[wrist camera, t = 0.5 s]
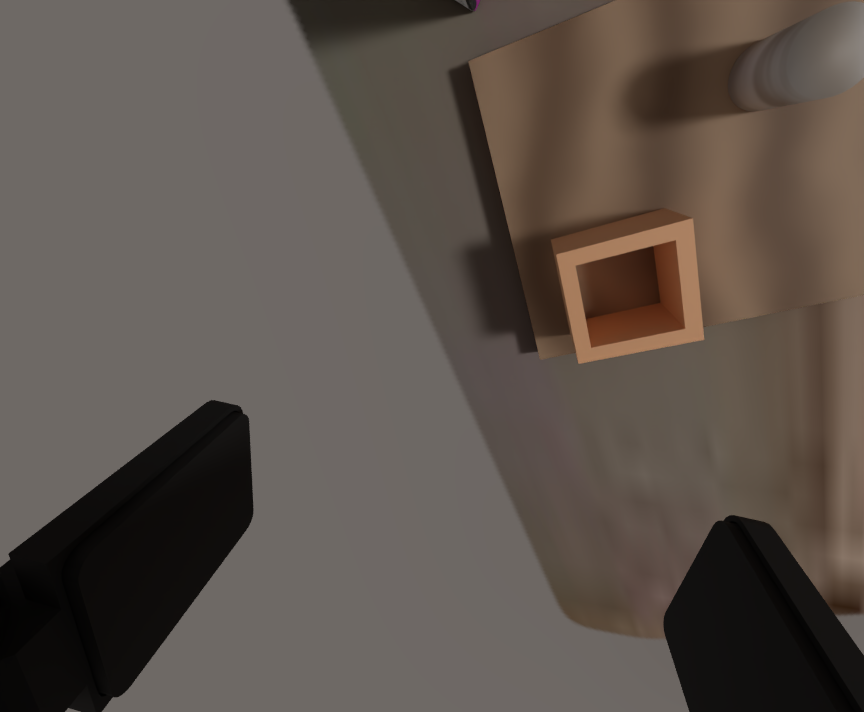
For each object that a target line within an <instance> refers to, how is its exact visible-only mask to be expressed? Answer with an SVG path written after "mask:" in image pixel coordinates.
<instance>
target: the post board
mask: <svg viewBox="0 0 864 712" xmlns="http://www.w3.org/2000/svg"><path fill="white" fill-rule="evenodd" d="M468 62H469V66H470V70H471V74H472V78H473V83H474V87H475V91H476V95H477V99H478V103H479V107H480V112H481V116H482V120H483V124H484V128H485V132H486V137H487V141H488V145H489V149H490V153H491V157H492V162H493V166H494V170H495V174H496V178H497V182H498V187H499V191H500V195H501V199H502V203H503V207H504V211H505V216H506V220H507V224H508V228H509V232H510V236H511V241H512V245H513V249H514V253H515V257H516V261H517V266H518V270H519V274H520V278H521V282H522V286H523V291H524V295H525V299H526V303H527V307H528V311H529V315H530V320H531V324H532V328H533V332H534V336H535V340H536V345H537V349H538V353H539V357H540V360H541V359H546V358H551V357H556V356H561V355H566V354H571V353H576V352H575V349H574V345H573V342H572V338H571V334H570V330H569V325H568V320H567V315H566V311H565V306H564V301H563V296H562V291H561V287H560V282H559V277H558V272H557V267H556V263H555V258H554V253H553V248H552V243H551V239H555V238H558V237H562V236H565V235H569V234H573V233H576V232H580V231H584V230H587V229H591V228H594V227H598V226H602V225H605V224H609V223H613V222H616V221H620V220H623V219H627V218H631V217H634V216H638V215H641V214H645V213H649V212H652V211H656V210H660V209H663V208H666V209H669V210H671V211H674V212H677V213H680V214H683V215H685V216H688V217H691V218H693V223H694V234H695V245H696V256H697V267H698V278H699V289H700V300H701V311H702V322H703V327H706V326H711V325H716V324H721V323H726V322H731V321H736V320H741V319H746V318H751V317H756V316H761V315H766V314H771V313H776V312H781V311H786V310H791V309H796V308H801V307H806V306H811V305H816V304H821V303H826V302H831V301H836V300H841V299H846V298H851V297H856V296H861V295H864V0H615V1H613V2H610V3H608V4H606V5H603V6H601V7H598V8H596V9H593V10H591V11H589V12H586V13H584V14H581V15H579V16H577V17H574V18H572V19H569V20H567V21H564V22H562V23H560V24H557V25H555V26H552V27H550V28H548V29H545V30H543V31H540V32H538V33H535V34H533V35H531V36H528V37H526V38H523V39H521V40H518V41H516V42H514V43H511V44H509V45H506V46H504V47H502V48H499V49H497V50H494V51H492V52H489V53H487V54H485V55H482V56H480V57H477V58H475V59H473V60H470V61H468ZM576 271H577V276H578V282H579V287H580V292H581V297H582V302H583V308H584V313H585V318H586V319H589V318H593V317H598V316H603V315H607V314H612V313H616V312H621V311H625V310H630V309H634V308H639V307H643V306H648V305H653V304H657V303H660V295H659V287H658V279H657V271H656V263H655V255H654V247H653V246H651V247H647V248H643V249H639V250H635V251H631V252H627V253H623V254H619V255H615V256H611V257H608V258H604V259H600V260H596V261H592V262H588V263H584V264H580V265H576Z"/></svg>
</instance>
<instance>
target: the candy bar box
mask: <svg viewBox="0 0 864 712" xmlns="http://www.w3.org/2000/svg"><path fill="white" fill-rule="evenodd" d="M455 1H457V2H459V3H460V4H462V5H463V6H465V7H466V8H468V9H470V10H471V11H476V9H477V7H478V4H479V2H480V0H455Z"/></svg>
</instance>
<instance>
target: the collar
mask: <svg viewBox="0 0 864 712" xmlns="http://www.w3.org/2000/svg"><path fill="white" fill-rule="evenodd" d="M551 243H552V248H553V253H554V258H555V263H556V267H557V272H558V277H559V282H560V287H561V291H562V296H563V301H564V306H565V311H566V315H567V320H568V325H569V330H570V334H571V338H572V342H573V345H574V349H575V352H576V356H577V360H578V363H579V364H580V363H585V362H591V361H596V360H601V359H606V358H611V357H617V356H622V355H627V354H632V353H637V352H642V351H648V350H653V349H658V348H663V347H668V346H674V345H679V344H684V343H689V342H694V341H700V340H704V333H703V322H702V311H701V300H700V289H699V278H698V267H697V256H696V245H695V234H694V223H693V218H691V217H688V216H685V215H683V214H680V213H677V212H674V211H671V210H669V209H666V208H663V209H660V210H656V211H652V212H649V213H645V214H641V215H638V216H634V217H631V218H627V219H623V220H620V221H616V222H613V223H609V224H605V225H602V226H598V227H594V228H591V229H587V230H584V231H580V232H576V233H573V234H569V235H565V236H562V237H558V238H555V239H551ZM651 246H653V247H654V255H655V263H656V271H657V279H658V287H659V295H660V303H657V304H653V305H648V306H643V307H639V308H634V309H630V310H625V311H621V312H616V313H612V314H607V315H603V316H598V317H593V318H589V319H586V318H585V313H584V308H583V302H582V297H581V292H580V287H579V282H578V276H577V271H576V265H580V264H584V263H588V262H592V261H596V260H600V259H604V258H608V257H611V256H615V255H619V254H623V253H627V252H631V251H635V250H639V249H643V248H647V247H651Z"/></svg>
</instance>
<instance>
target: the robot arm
mask: <svg viewBox="0 0 864 712" xmlns="http://www.w3.org/2000/svg"><path fill="white" fill-rule="evenodd" d="M249 432H250V431H249V418H248V416H247V415H245V414H243V412H242V409H241V407H239V406H238V405H233V404H229V403H224V402H219V401H215V400H211V401H209V402H207V403H205V404H204V405H203V406H201V407H200V408H199V409H197V410H196V411H195V412H194V413H192V414H191V415H190V416H188V417H187V418H186V419H184V420H183V421H182V422H180V423H179V424H178V425H176V426H175V427H174V428H172V429H171V430H170V431H169V432H167V433H166V434H165V435H163V436H162V437H161V438H160V439H158V440H157V441H156V442H154V443H153V444H152V445H150V446H149V447H148V448H146V449H145V450H144V451H143V452H141V453H140V454H138V455H137V456H136V457H134V458H133V459H132V460H131V461H129V462H128V463H127V464H125V465H124V466H123V467H121V468H120V469H119V470H117V471H116V472H115V473H114V474H112V475H111V476H110V477H108V478H107V479H106V480H104V481H103V482H102V483H100V484H99V485H98V486H96V487H95V488H94V489H93V490H91V491H90V492H89V493H87V494H86V495H85V496H83V497H82V498H81V499H79V500H78V501H77V502H76V503H74V504H73V505H72V506H70V507H69V508H68V509H66V510H65V511H64V512H62V513H61V514H60V515H59V516H57V517H56V518H55V519H53V520H52V521H51V522H49V523H48V524H47V525H46V526H44V527H43V528H42V529H40V530H39V531H38V532H36V533H35V534H34V535H32V536H31V537H30V538H28V539H27V540H26V541H24V542H23V543H22V544H20V545H19V546H18V547H17V548H15V549H14V550H13V551H11V552H10V553H9V557H10V560H9V561H8V562H6V563H5V564H4V565H3V566H1V567H0V712H65V711H66V710H67V708H71V709H74V710H77V711H81V712H102V710H103V709H104V708H105V706H106V705H107V704H108V703H109V701H110V700H111V699H112V697H119V696H121V695H122V694H123V693H125V691H127V690H128V688H129V687H130V686H131V685H132V683H133V682H134V681H135V679H136V678H137V676H138V675H139V674H140V673H141V671H142V670H143V668H144V667H145V666H146V665H147V663H148V662H149V661H150V659H151V658H152V656H153V655H154V654H155V652H156V651H157V650H158V648H159V647H160V646H161V644H162V643H163V642H164V640H165V639H166V638H167V636H168V635H169V634H170V632H171V631H172V630H173V628H174V627H175V625H176V624H177V623H178V621H179V620H180V619H181V617H182V616H183V614H184V613H185V612H186V611H187V609H188V608H189V607H190V605H191V604H192V602H193V601H194V599H195V598H196V597H197V596H198V595H199V593H200V592H201V590H202V589H203V588H204V586H205V585H206V584H207V582H208V581H209V580H210V578H211V577H212V576H213V574H214V573H215V571H216V570H217V569H218V568H219V566H220V565H221V564H222V562H223V561H224V559H225V558H226V557H227V555H228V554H229V553H230V551H231V550H232V549H233V547H234V546H235V545H236V543H237V542H238V541H239V539H240V538H241V537H242V535H243V534H244V532H245V531H246V529H247V528H248V527H249V525H250V523H251V520H252V517H253V493H252V474H251V473H252V472H251V453H250V452H251V451H250V433H249ZM664 632H665V636H666V640H667V643H668V646H669V649H670V652H671V655H672V658H673V661H674V665H675V668H676V671H677V674H678V677H679V680H680V684H681V687H682V690H683V693H684V696H685V699H686V702H687V705H688V708H689V712H864V655H863V654H862V652H861V651H860V650H859V648H858V647H857V645H856V644H855V643H854V641H853V640H852V638H851V637H850V636H849V634H848V633H847V631H846V630H845V629H844V627H843V626H842V624H841V623H840V622H839V620H838V619H837V617H836V616H835V614H834V613H833V612H832V610H831V609H830V607H829V606H828V605H827V603H826V602H825V600H824V599H823V598H822V596H821V595H820V593H819V592H818V590H817V589H816V588H815V586H814V585H813V583H812V582H811V581H810V579H809V578H808V576H807V575H806V574H805V572H804V571H803V569H802V568H801V567H800V565H799V564H798V562H797V561H796V560H795V558H794V557H793V555H792V554H791V553H790V551H789V550H788V548H787V547H786V545H785V544H784V543H783V541H782V540H781V538H780V537H779V536H778V534H777V533H776V531H775V530H774V529H773V528H772V527H771V526H770V525H769V524H768V523H765V522H762V521H758V520H753V519H748V518H744V517H739V516H735V515H730V516H728V517H726V518H725V519H724V521H717V522H716V523H715V524H714V525H713V527H712V529H711V531H710V532H709V534H708V536H707V538H706V540H705V541H704V543H703V545H702V547H701V549H700V551H699V552H698V554H697V556H696V558H695V560H694V562H693V563H692V565H691V567H690V569H689V571H688V572H687V574H686V576H685V578H684V580H683V582H682V583H681V585H680V587H679V589H678V591H677V593H676V594H675V596H674V598H673V600H672V602H671V603H670V605H669V607H668V609H667V611H666V613H665V616H664Z"/></svg>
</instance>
